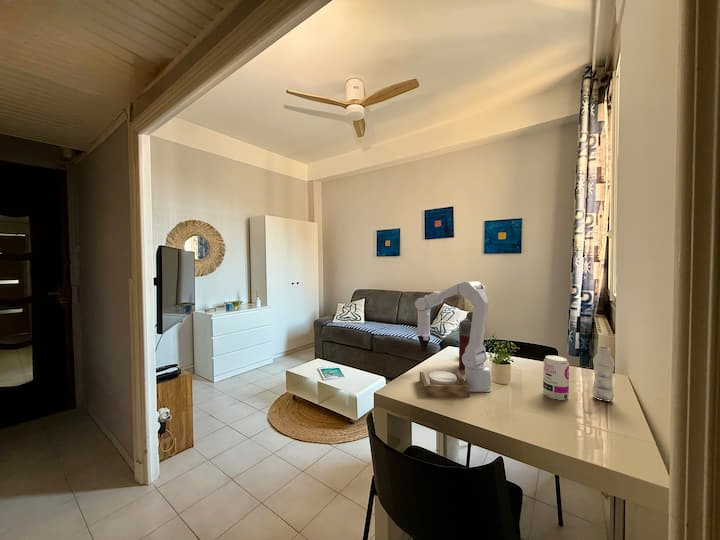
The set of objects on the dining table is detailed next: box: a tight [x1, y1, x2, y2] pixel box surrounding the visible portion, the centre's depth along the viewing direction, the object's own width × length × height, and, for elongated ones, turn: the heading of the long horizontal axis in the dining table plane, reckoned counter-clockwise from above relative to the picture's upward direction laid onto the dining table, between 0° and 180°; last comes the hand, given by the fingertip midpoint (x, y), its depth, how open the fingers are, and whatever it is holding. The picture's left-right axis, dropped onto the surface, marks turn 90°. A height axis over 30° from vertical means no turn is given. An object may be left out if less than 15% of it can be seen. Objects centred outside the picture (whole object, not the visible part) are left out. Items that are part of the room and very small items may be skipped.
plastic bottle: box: [591, 345, 616, 401], centre depth 113 cm, size 6×7×20 cm
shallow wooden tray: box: [419, 371, 470, 398], centre depth 124 cm, size 17×14×4 cm
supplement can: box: [542, 355, 570, 401], centre depth 116 cm, size 8×8×15 cm
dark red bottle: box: [458, 310, 473, 372], centre depth 146 cm, size 9×11×28 cm
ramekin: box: [428, 370, 457, 385], centre depth 124 cm, size 11×11×5 cm
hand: (423, 351), depth 143 cm, fingers closed
